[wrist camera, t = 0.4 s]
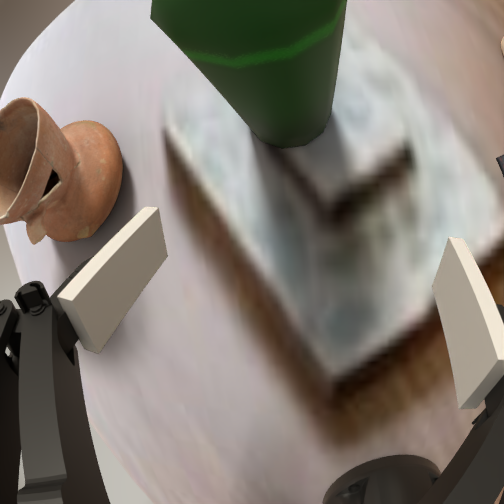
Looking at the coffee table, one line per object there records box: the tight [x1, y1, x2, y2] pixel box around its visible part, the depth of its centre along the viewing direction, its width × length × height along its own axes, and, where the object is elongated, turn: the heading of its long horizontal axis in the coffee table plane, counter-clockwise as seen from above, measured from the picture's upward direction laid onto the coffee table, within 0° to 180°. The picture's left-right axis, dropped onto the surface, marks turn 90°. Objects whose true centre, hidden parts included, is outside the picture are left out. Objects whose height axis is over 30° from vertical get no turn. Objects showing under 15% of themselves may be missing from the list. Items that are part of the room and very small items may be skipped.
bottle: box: [150, 0, 347, 149], centre depth 16 cm, size 11×11×28 cm
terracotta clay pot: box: [0, 97, 123, 245], centre depth 28 cm, size 18×14×14 cm
